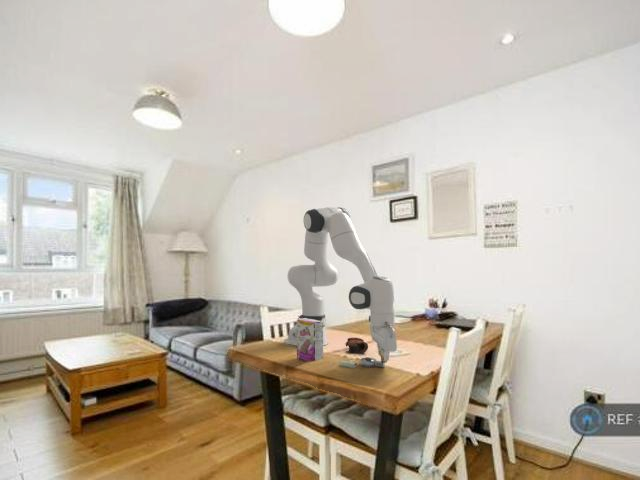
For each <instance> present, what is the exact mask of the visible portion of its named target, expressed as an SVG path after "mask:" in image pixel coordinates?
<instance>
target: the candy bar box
mask: <svg viewBox="0 0 640 480" xmlns="http://www.w3.org/2000/svg"><path fill="white" fill-rule="evenodd" d="M296 324H297V346H296V352H297V353H296V358H297V360H301V361H304V362H307V363H308V362H310V361H319V360H322V359H324V345H323V321H318V320H313V319H308V318H302V319H300V318H299V319H298V318H297V319H296Z"/></svg>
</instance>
